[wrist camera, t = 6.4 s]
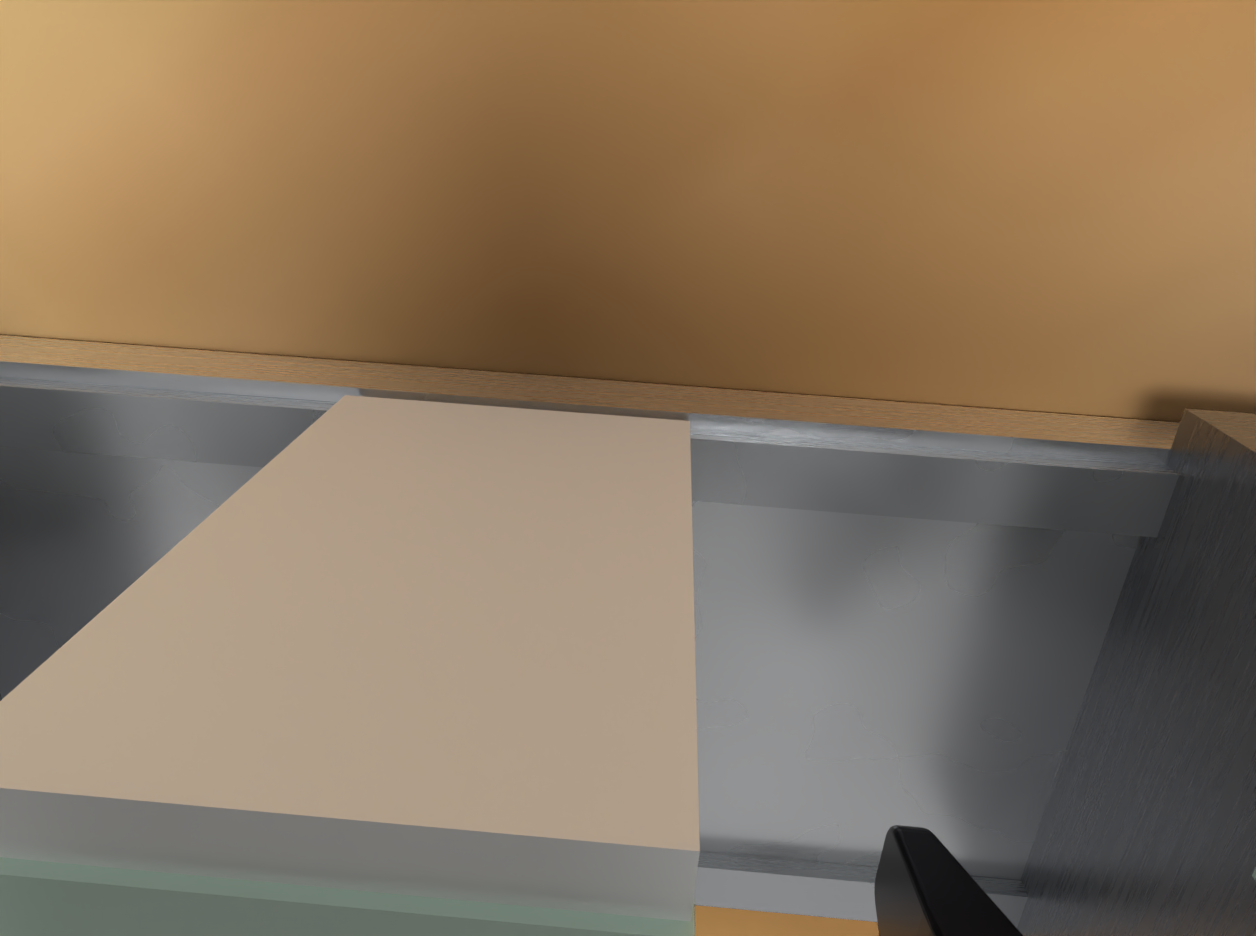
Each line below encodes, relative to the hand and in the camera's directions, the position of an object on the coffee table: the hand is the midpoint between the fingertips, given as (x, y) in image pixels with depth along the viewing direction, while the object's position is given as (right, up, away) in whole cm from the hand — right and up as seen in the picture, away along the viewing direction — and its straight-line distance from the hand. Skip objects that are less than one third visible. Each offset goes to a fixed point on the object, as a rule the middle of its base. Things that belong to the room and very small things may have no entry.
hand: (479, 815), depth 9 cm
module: (0, +1, +2) cm, 2 cm away
